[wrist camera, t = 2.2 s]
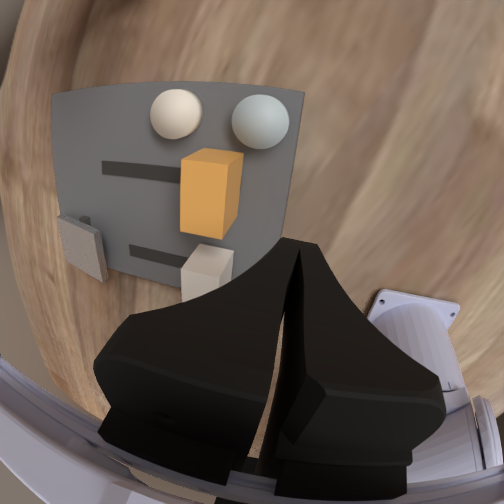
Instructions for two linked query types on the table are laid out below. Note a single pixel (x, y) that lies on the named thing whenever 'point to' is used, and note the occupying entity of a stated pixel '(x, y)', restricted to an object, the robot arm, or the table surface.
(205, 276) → the block
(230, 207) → the orange fader
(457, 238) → the table surface
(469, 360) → the table surface
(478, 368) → the table surface
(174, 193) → the panel
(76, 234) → the rocker
